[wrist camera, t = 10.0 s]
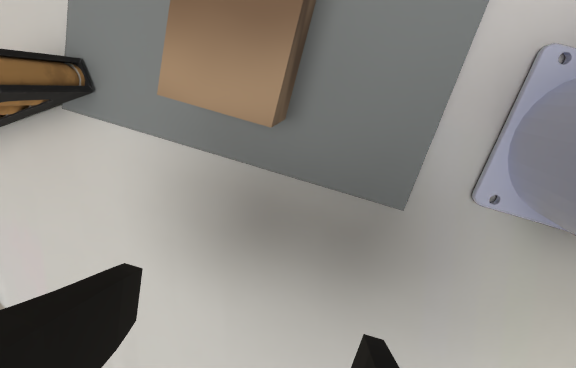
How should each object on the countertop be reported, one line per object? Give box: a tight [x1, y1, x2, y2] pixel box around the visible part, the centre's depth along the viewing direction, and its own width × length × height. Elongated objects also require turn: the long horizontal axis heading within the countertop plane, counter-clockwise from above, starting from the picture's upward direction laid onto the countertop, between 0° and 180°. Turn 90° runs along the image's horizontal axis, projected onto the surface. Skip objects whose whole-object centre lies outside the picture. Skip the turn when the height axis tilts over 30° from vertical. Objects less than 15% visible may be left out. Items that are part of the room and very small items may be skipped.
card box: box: [157, 0, 316, 128], centre depth 14 cm, size 9×5×4 cm, turn 165°
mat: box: [62, 0, 489, 211], centre depth 16 cm, size 20×15×1 cm
